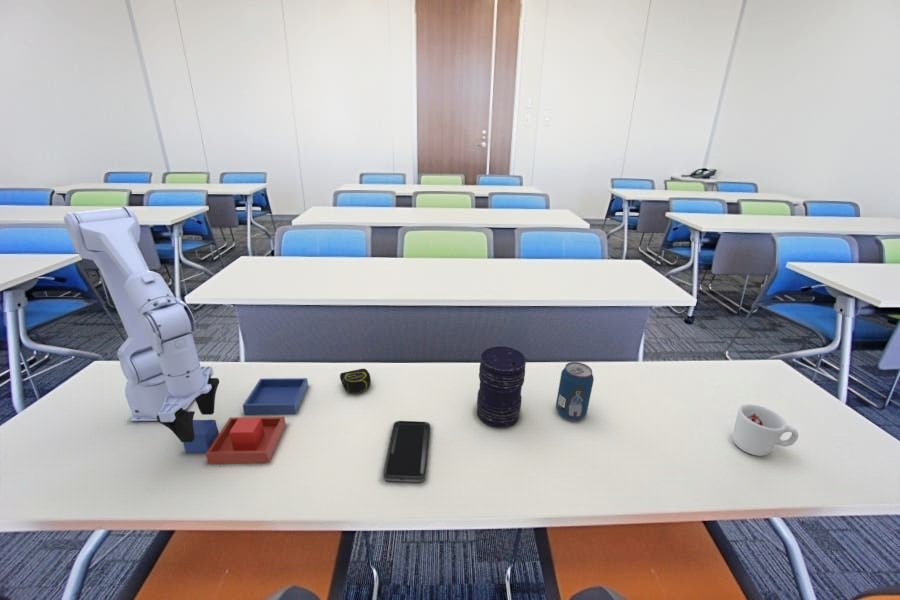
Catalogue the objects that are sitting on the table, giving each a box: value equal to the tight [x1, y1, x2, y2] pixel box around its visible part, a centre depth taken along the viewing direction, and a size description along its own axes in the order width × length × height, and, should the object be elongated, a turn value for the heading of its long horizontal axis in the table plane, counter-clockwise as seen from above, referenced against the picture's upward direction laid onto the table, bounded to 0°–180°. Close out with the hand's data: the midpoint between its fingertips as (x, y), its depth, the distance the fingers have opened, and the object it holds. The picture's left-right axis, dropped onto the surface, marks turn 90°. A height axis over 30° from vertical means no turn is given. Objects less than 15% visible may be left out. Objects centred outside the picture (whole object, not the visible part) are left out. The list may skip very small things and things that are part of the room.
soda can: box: [555, 361, 595, 422], centre depth 89 cm, size 7×7×12 cm
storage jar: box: [476, 346, 527, 429], centre depth 88 cm, size 10×10×15 cm
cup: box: [732, 403, 799, 457], centre depth 82 cm, size 11×8×8 cm
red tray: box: [205, 416, 287, 465], centre depth 80 cm, size 11×10×2 cm
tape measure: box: [339, 368, 372, 394], centre depth 97 cm, size 7×7×4 cm
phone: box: [382, 420, 431, 483], centre depth 79 cm, size 8×1×15 cm
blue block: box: [182, 419, 220, 454], centre depth 79 cm, size 4×4×4 cm
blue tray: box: [242, 377, 309, 416], centre depth 92 cm, size 11×10×2 cm
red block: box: [229, 416, 264, 450], centre depth 79 cm, size 4×4×4 cm
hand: (198, 426), depth 78 cm, fingers open, 7 cm apart
